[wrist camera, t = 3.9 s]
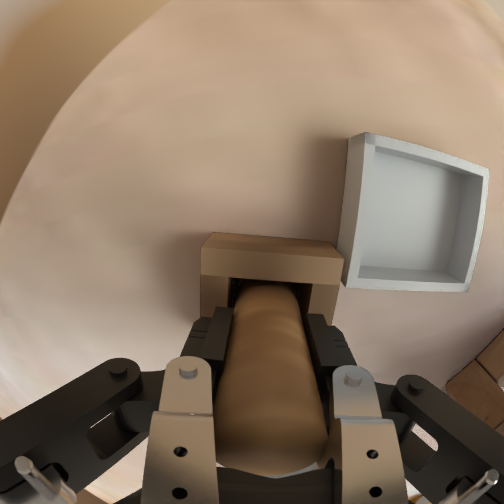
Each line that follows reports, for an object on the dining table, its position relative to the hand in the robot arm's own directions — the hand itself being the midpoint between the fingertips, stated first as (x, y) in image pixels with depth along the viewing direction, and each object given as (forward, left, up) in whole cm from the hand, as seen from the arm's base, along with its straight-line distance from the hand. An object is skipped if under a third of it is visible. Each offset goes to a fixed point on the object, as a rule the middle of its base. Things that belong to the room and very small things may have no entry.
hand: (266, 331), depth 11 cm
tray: (-8, -5, -4) cm, 10 cm away
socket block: (0, 0, -4) cm, 4 cm away
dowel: (0, 0, -4) cm, 4 cm away
